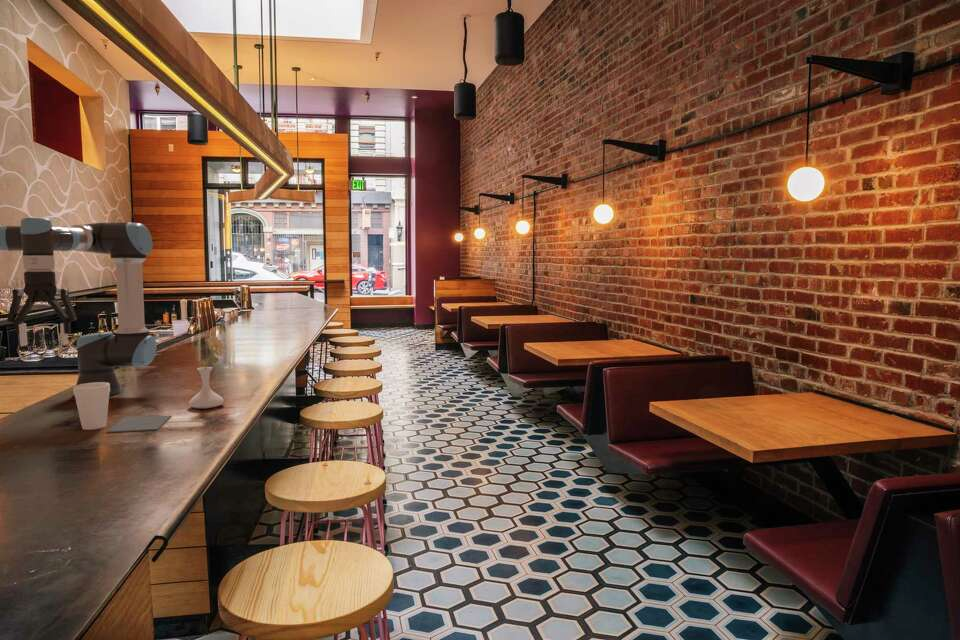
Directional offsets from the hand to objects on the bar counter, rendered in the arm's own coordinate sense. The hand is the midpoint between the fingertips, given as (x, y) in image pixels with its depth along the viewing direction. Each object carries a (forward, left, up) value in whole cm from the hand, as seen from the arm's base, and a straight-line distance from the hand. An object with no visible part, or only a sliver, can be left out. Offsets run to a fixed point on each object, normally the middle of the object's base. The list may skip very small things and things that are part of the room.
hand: (44, 345), depth 182 cm
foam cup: (0, +12, -26) cm, 29 cm away
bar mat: (0, +25, -26) cm, 36 cm away
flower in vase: (-20, +41, -26) cm, 52 cm away
